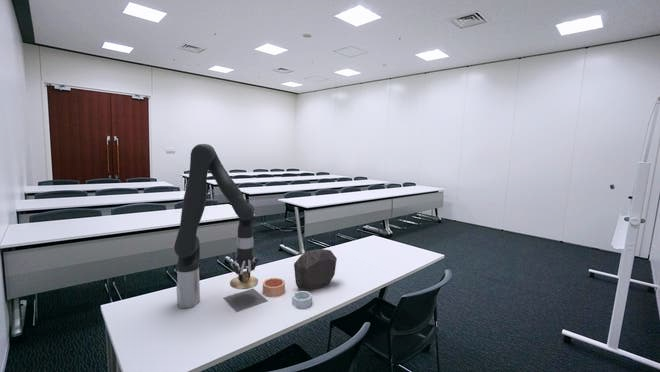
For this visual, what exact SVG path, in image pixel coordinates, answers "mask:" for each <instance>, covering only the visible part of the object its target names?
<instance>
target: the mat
mask: <svg viewBox="0 0 660 372" xmlns="http://www.w3.org/2000/svg"><path fill="white" fill-rule="evenodd" d="M223 300H225V302H226V303H227V304H228V305H229V306H230V307H231V308H232V309H233V310H234V311H235V312H236V313H239V312H241V311H244V310H247V309H250V308H253V307H257V306H258V305H261V304H264V303H267V302H269V300H268V299H267V298H266V297H265V296H264V295H262V294H261V293H260V292H258V291H257V290H256V289H255V288H250V289H245V290H244V291H239V292H237V293H233V294H231V295H228V296H227V295H226V296H224V297H223Z"/></svg>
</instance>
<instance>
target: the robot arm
mask: <svg viewBox="0 0 660 372" xmlns="http://www.w3.org/2000/svg"><path fill="white" fill-rule="evenodd" d="M188 173H189V174H188V178H187V182H186V186H185V191H184V196H183V201H182V207H181V214H180V223H179V229H178V232H177V235H176V239H175V241H174V242H175V243H174V246H173V249H174V252H175V254H176V256H177V257H178V259H177V263H176V273H177V276H176V278H177V279H176V280H177V284H176V285H175V286H176V303H177V305H178V307H179V308H180V310H181V309H189V308H193V307H195V306H197V305H199V304H200V303H201V289H200V286H201V285H200V284H201V283H200V259H201V258H200V256H201V253H200V251H201V248H200V240H199V237H198V236H197V232H198V228H199V225H200V222H201V220H202V217H203V215H204V211H205V207H206V203H207V196H208V184H207V183H208V181H207V180H208V173H210V174H211V175H212V177H213V179H214V180H215V182H216V184H217V186H218V188H219V190H220V191H221V194H223V196H224V197H225V198H226V200H227V201H228V202H229V204H230V205H231V208H232V209H233V211H234V213H235V215H236V216H237V217H238V226H237V239H236V258H235V260H234V261H230V266H231V269H232V270H233V271H234V273H235V274H236V275H238V276H237V277H238V279H239V280H240V281H241V282H242V281H243V274H242V273H243V271H247V272H248V280H249V278H250V276H251V272H252V271H255V269H256V267H257V264H258V262H259V258H258V257H256V256H255V257H254V255H253V254H254V220H255V218H254V217H255V207H254V206H253V204H251V203H249V202H247V200H246V199H245V197H244V194H243V192H242V191H241V189H240V188H239V186H238V185H237V184H236V183H235V181H234V179H232V177H231V176H230V174H229V173H228V172H227V170H226V169H225V167H224V165H223V163H222V162H221V159H220V158H219V156H218V154H217V152H216V150H215V148H214V147H213V146H212V145H211V144H207V143H200V144H197V145H194V147H193V148H192V149H191V151H190V158H189V172H188ZM237 265H238V266H237ZM245 268H246V270H244V269H245Z"/></svg>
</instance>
